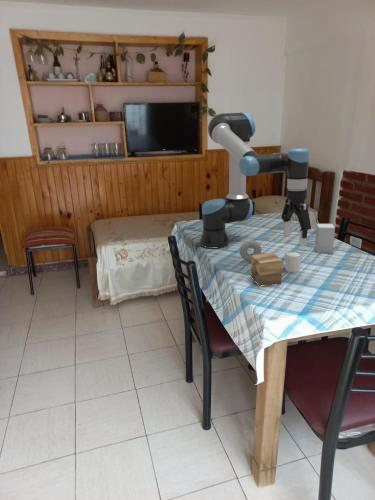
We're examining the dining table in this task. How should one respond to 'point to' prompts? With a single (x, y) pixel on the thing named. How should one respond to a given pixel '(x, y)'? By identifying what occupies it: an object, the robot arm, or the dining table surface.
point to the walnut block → (266, 278)
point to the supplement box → (324, 238)
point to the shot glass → (292, 261)
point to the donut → (246, 246)
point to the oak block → (266, 264)
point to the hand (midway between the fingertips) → (294, 240)
